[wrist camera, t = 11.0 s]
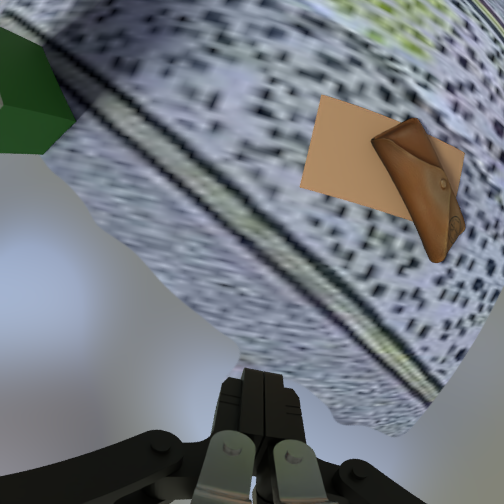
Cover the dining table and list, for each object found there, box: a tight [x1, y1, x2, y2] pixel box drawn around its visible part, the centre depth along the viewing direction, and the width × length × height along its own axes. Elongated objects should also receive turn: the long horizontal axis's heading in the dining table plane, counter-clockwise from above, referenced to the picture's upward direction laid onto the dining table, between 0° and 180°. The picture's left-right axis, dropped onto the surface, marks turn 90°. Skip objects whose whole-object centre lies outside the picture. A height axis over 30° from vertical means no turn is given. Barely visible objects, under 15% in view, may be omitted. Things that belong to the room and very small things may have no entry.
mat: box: [300, 95, 465, 221], centre depth 35 cm, size 12×22×1 cm, turn 77°
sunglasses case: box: [370, 118, 465, 263], centre depth 34 cm, size 18×7×7 cm
